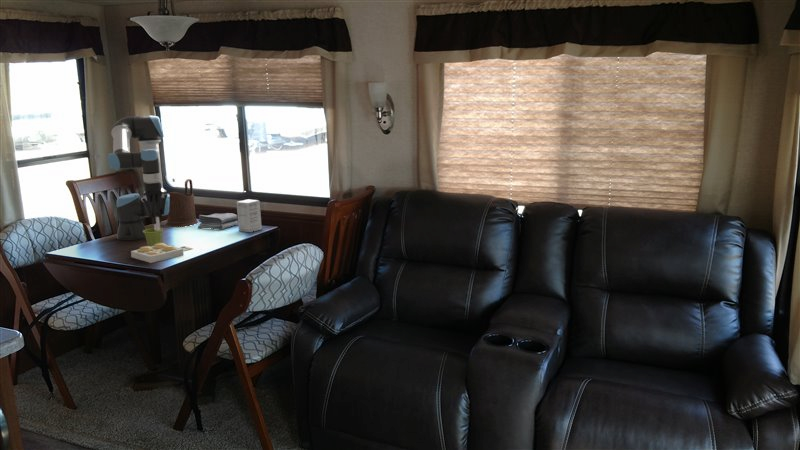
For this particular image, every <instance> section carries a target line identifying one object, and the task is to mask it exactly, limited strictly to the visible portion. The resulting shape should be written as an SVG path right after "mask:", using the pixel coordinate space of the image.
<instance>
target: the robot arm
mask: <svg viewBox="0 0 800 450" xmlns="http://www.w3.org/2000/svg"><path fill="white" fill-rule="evenodd" d="M160 120H161V119H160V117H159V116H157V115H140V116H139V115H138V116H135V115H134V116H130V115H129V116H125V117H123V118H120V119H119V120H117V121H116V122H115V123H114V124H113V126H112V127H111V132H110V134H111V137H112V138H113V140H112V141H113V143H112V146H113V148H112V153H110V152H109V153H108V155H107V160H108V161H107V163H108V166H109V168H110V169H111V170H121V169H138V168H142V178H143V186H144V187H143V188H144V191H143V195H140V194H139V193H138V192H137V193H128V194H124V195H121V196H119V197H117V199H116V209H117V215H118V216H117V217H118V228H117V233H116V239H117V240H119V241H134V240H135V241H136V240H141V239H146V237H145V235H144V233H143V231H144V230H146V229H147V228H146V226H145V224H144V222H143V218H151V222H152V223H151V224H153V226H154V227H153V228H154V229H155V230H157V231H159V230H160V228H161V223H162V218H161V217H163V216H167V214H168V213H169V202H170V195H169V194H167V193H168V192H167V190H166V189H164V184H163V175H162V165H161V155H160V154H161V153H160V145H159V144H160V143H161V142H162V138H164V132H163V128H162V124H161V121H160ZM131 139H137V142H138V143H139V144H140V145H141V150H140V151H131V145H130V143H131V142H130V141H131Z"/></svg>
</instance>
